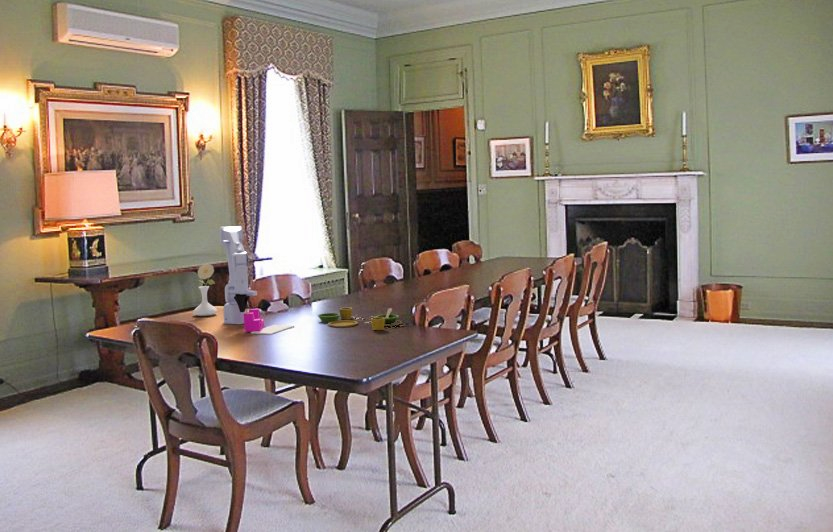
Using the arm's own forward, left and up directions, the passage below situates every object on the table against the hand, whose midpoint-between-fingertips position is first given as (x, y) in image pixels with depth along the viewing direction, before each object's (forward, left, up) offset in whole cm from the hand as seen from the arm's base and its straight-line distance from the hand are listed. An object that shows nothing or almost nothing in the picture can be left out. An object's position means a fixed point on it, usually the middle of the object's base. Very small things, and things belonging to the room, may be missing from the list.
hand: (242, 311), depth 349 cm
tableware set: (+45, +24, -8) cm, 51 cm away
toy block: (+6, 0, -7) cm, 10 cm away
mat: (+15, 0, -7) cm, 16 cm away
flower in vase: (-38, +24, -7) cm, 45 cm away
